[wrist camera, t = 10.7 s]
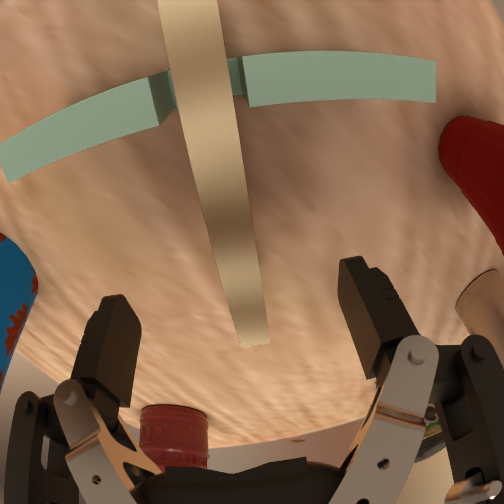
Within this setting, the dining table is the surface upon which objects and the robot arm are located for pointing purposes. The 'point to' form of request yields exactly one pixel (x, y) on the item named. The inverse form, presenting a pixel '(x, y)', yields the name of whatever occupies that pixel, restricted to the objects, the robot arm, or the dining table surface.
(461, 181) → the plastic cup
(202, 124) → the brass bar
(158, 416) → the canister
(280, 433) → the dining table surface
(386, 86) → the sage green notched block
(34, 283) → the thermos
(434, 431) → the coffee jar
